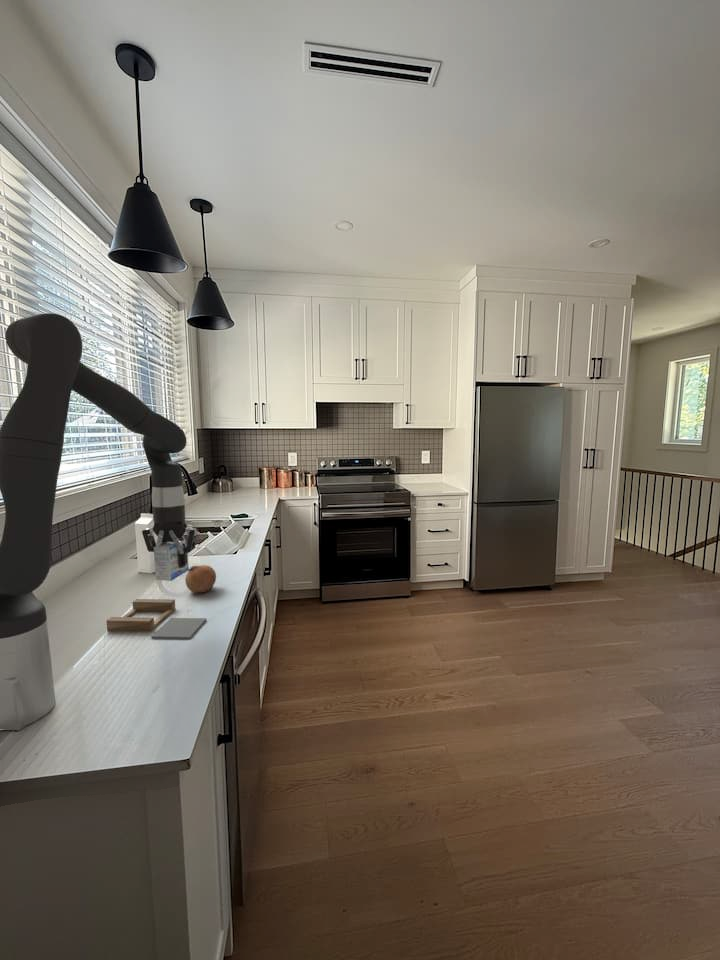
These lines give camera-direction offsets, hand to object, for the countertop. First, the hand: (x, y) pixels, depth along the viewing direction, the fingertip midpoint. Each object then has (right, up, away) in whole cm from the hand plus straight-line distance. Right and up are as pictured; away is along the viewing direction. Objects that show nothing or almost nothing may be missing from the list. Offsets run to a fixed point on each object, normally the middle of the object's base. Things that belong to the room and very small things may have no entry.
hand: (172, 566), depth 104 cm
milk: (-30, -12, +46) cm, 57 cm away
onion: (-3, -14, +27) cm, 30 cm away
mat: (+1, -17, +2) cm, 17 cm away
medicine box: (0, -3, 0) cm, 3 cm away
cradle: (-12, -16, +7) cm, 21 cm away
